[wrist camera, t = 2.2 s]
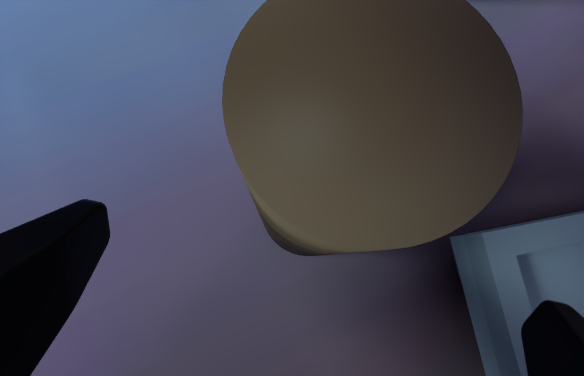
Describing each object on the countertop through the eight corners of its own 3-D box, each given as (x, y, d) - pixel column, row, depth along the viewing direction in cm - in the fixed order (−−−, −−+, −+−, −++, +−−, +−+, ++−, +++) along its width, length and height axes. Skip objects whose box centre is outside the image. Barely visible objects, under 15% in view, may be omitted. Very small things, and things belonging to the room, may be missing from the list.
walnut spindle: (364, 246, 18) (562, 216, 5) (270, 264, 17) (250, 278, 5) (344, 155, 18) (476, -54, 6) (254, 171, 18) (201, -14, 6)
